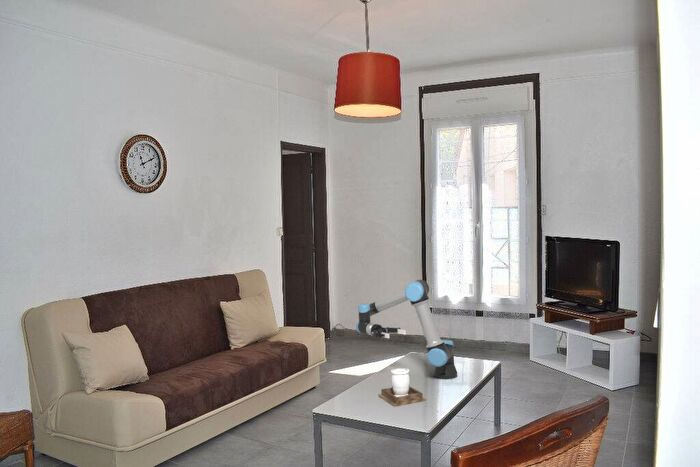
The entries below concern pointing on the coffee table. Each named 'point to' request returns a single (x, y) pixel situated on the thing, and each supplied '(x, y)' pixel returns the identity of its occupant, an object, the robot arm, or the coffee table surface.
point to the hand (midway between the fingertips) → (397, 334)
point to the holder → (401, 397)
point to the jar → (400, 381)
